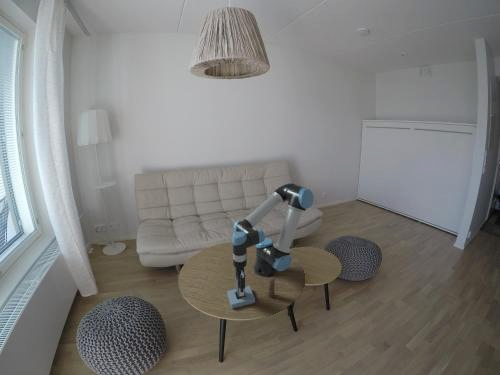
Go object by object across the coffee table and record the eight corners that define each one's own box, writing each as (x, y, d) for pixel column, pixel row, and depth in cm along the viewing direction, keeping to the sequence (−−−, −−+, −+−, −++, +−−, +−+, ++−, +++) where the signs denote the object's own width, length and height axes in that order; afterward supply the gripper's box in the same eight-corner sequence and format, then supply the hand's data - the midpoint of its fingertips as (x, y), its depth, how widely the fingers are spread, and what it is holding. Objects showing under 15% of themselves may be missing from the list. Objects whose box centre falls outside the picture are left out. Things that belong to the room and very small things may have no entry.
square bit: (242, 291, 143) (242, 275, 139) (244, 296, 139) (244, 279, 135) (236, 293, 141) (235, 276, 138) (238, 298, 138) (237, 281, 134)
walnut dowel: (272, 293, 145) (273, 276, 141) (275, 297, 142) (275, 280, 138) (267, 294, 144) (267, 278, 140) (269, 298, 141) (270, 282, 137)
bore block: (249, 289, 148) (249, 285, 147) (255, 302, 138) (255, 298, 137) (227, 294, 144) (227, 290, 143) (231, 308, 134) (231, 304, 133)
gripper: (229, 251, 139) (230, 284, 146) (237, 269, 123) (238, 305, 131) (242, 249, 141) (242, 281, 148) (250, 266, 126) (251, 301, 133)
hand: (240, 292), depth 140 cm, fingers closed on square bit, 4 cm apart
